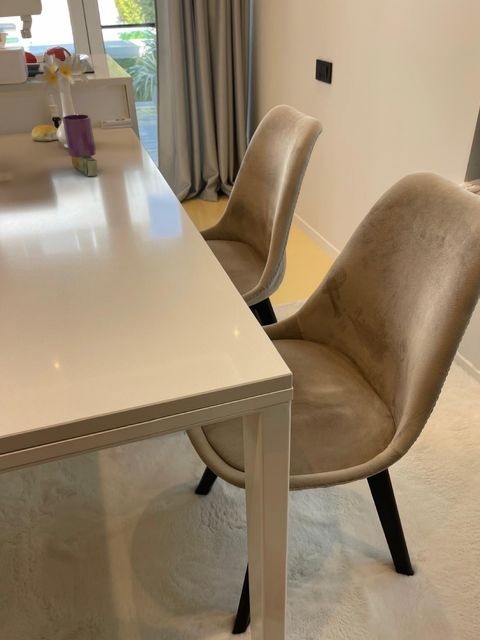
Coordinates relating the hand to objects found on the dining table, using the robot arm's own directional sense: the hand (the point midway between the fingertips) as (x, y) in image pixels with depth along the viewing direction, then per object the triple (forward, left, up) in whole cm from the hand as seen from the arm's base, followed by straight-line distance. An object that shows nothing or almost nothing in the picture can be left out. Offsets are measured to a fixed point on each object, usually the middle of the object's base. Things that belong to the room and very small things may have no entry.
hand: (12, 40), depth 129 cm
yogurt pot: (+10, -6, -26) cm, 28 cm away
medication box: (+10, -6, -31) cm, 33 cm away
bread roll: (+15, +34, -31) cm, 48 cm away
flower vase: (+18, +19, -31) cm, 40 cm away
